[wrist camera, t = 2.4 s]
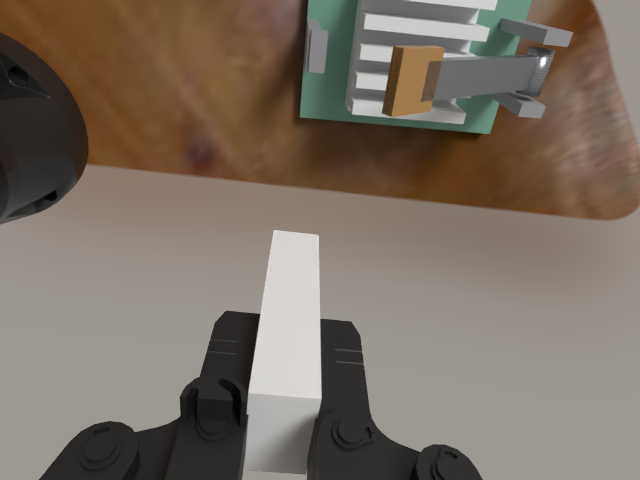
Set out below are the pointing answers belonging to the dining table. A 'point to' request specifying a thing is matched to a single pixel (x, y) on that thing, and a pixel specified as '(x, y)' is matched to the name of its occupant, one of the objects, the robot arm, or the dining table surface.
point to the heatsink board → (337, 59)
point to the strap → (458, 76)
